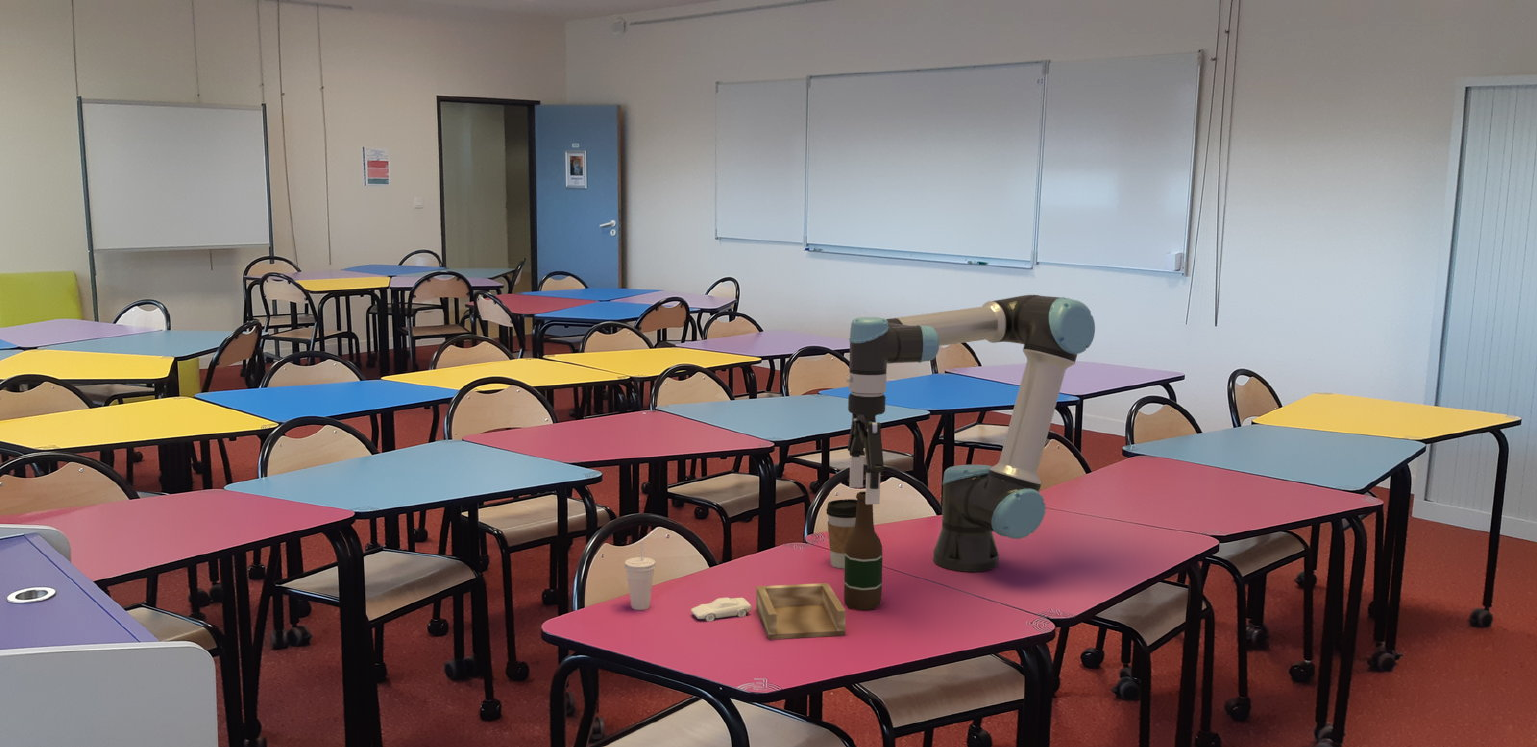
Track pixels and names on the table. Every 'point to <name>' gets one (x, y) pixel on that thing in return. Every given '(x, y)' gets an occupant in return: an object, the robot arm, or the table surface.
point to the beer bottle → (863, 561)
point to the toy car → (722, 608)
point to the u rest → (800, 611)
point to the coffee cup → (840, 528)
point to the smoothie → (640, 580)
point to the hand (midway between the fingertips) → (863, 495)
